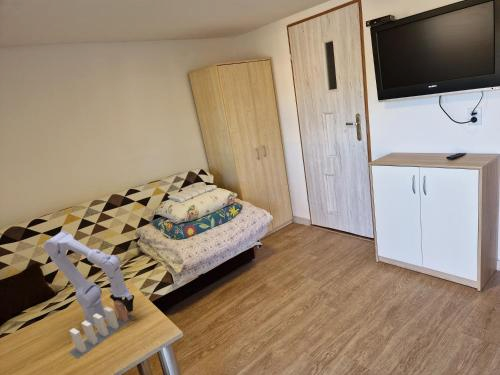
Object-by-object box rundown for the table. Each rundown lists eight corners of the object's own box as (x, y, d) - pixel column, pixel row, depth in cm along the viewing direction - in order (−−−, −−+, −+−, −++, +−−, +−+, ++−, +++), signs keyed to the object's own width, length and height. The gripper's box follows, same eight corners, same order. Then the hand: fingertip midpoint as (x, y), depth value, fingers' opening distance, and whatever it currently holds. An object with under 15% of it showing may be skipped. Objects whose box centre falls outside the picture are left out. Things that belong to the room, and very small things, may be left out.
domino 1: (76, 349, 140) (69, 330, 137) (80, 346, 141) (73, 328, 139) (82, 353, 137) (75, 334, 134) (86, 350, 138) (79, 331, 136)
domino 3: (98, 333, 147) (92, 315, 145) (102, 330, 149) (96, 313, 146) (105, 336, 144) (98, 318, 142) (108, 334, 146) (102, 316, 143)
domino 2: (87, 341, 144) (81, 323, 141) (91, 338, 145) (85, 320, 142) (94, 344, 140) (87, 326, 138) (98, 341, 142) (91, 323, 139)
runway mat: (68, 353, 139) (68, 352, 139) (125, 313, 159) (125, 312, 159) (78, 359, 134) (78, 358, 134) (135, 317, 154) (135, 317, 154)
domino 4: (109, 326, 151) (103, 308, 148) (112, 323, 152) (106, 306, 150) (115, 329, 148) (109, 311, 145) (119, 326, 149) (113, 309, 147)
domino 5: (119, 319, 155) (113, 302, 152) (122, 316, 156) (117, 299, 154) (125, 322, 152) (119, 304, 149) (128, 319, 153) (123, 302, 150)
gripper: (134, 281, 149) (142, 307, 153) (116, 275, 158) (124, 300, 162) (120, 290, 144) (129, 317, 148) (102, 283, 153) (111, 309, 157)
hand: (125, 309), depth 154 cm, fingers open, 7 cm apart
